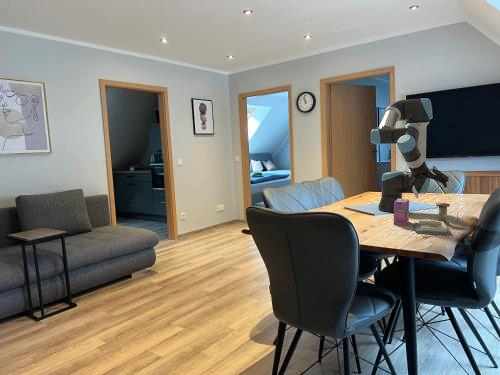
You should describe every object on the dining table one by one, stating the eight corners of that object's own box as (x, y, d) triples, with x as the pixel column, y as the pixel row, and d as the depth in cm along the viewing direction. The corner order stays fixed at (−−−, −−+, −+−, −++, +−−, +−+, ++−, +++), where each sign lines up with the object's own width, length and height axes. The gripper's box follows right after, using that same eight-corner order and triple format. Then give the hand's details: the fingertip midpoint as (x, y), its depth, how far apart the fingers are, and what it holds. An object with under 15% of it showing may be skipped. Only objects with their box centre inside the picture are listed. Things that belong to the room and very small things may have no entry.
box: (405, 225, 181) (406, 202, 180) (393, 224, 184) (393, 201, 183) (408, 221, 190) (409, 199, 189) (397, 220, 193) (397, 198, 192)
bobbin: (436, 224, 181) (436, 204, 180) (435, 222, 187) (435, 202, 186) (449, 225, 179) (450, 205, 178) (448, 222, 185) (449, 203, 183)
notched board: (416, 233, 166) (416, 227, 166) (414, 225, 182) (414, 219, 181) (451, 235, 161) (451, 229, 161) (446, 226, 177) (446, 221, 176)
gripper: (389, 174, 180) (405, 203, 190) (444, 162, 164) (459, 195, 173) (391, 164, 185) (407, 193, 194) (444, 151, 169) (459, 184, 178)
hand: (431, 194), depth 184 cm, fingers open, 13 cm apart
